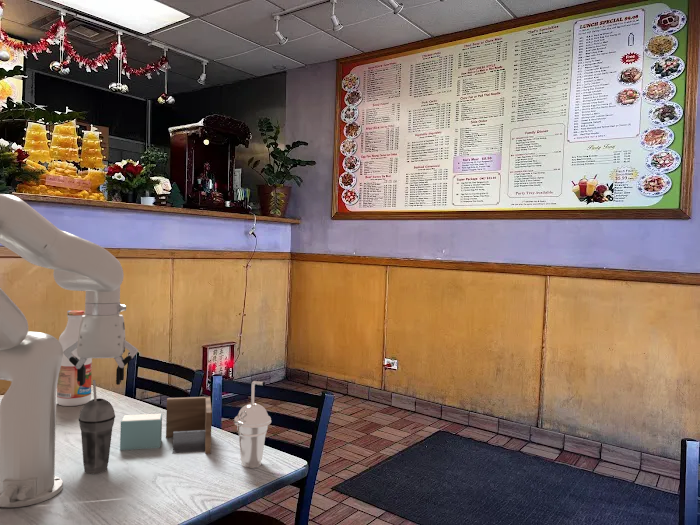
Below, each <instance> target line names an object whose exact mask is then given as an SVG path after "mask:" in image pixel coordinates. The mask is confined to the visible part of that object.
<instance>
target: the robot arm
mask: <svg viewBox="0 0 700 525" xmlns="http://www.w3.org/2000/svg"><path fill="white" fill-rule="evenodd" d="M0 245H2V246H3V247H4V248H7V249H8V250H10V251H11V252H13V253H14V254H16V255H18V256H19V257H20V258H22V259H23V260H25V261H26V262H28V263H29V264H32V265H34V266H36V267H37V266H38V267H41V268H44V269H49V270H53V279H54V281H55V283H56V285H58V286H59V287H60V288H61V289H64V290H66V291H67V290H68V291H72V292H73V291H76V292H77V291H79V292H85V298H84V299H85V300H84V301H85V302H84V311H85V315H82V318H81V322H80V327H79V335H78V341H77V342H76V343H74V344H73V345H72V346H70V347H69V348H67V349H66V350H65V351H64V352H63V349H62V345H61V343H60V342H59V339H58V338H56V337H55V336H53V335H51V334H49V333H46V332H45V333H44V332H40V331H30V330H29V323H28V319H27V318H26V315H25V314H24V313H23V311H22V310H21V309H20V308H19V306H18V305H17V304H16V303H15V302H14V301H13V300H12V299H11V298H10V297H9V295H8V294H7V293H6V292H5V291H4V290H3V289H2V288H1V287H0V380H2V381H3V380H4V381H8V382H11V383H10V386H9V387H8V389H7V390H6V392H5V393H4V394H3V397H2V398H1V401H0V508H20V507H21V508H22V507H27V506H33V505H36V504H40V503H42V502H45V501H47V500H51V499H52V498H53V497H55V496H57V495H58V494H60V492H61V491H62V490H63V489H64V480H63V479H62V478H61V477H60V476H57V475H55V473H56V472H55V468H56V467H55V465H56V464H55V462H56V422H57V421H56V419H57V418H56V416H57V415H56V413H57V411H56V410H57V409H56V408H57V382H58V376H59V372H60V368H61V363H62V358H63V354H64V355H65V356H66V357H67V358H68V359H69V361H70V362H71V363H72V364H73V365H74V366H75V367H76V368H77V382H79V381H80V386H82V385H84V384H85V379H86V367H85V366H84V363H85V361H86V360H87V358H92V359H112V358H113V359H114V360H115V362H116V363H117V367H116V372H115V373H116V378H115V384H116V385H118V386H119V385H120V384H121V383H122V381H124V380H125V379H124V378H125V366H126V365H128V363H130V362H131V361H132V360H133V358H135V356H136V355H137V354H138V352H139V349H138V348H137V347H136V346H134V345H133V344H131V343H130V342H129V341H127V340H126V326H125V318H124V315H123V314H120V313H121V312H124V311H125V312H126V311H127V305H125V304H122V303H121V285H122V283H123V281H124V269H123V267H122V264H121V262H120V260H119V259H117V258H116V256H114V255H113V254H112V253H111V252H110V251H109V250H107V249H105V247H103V246H101V245H99V244H97V243H94V242H93V241H90V240H87V239H86V238H85V239H84V238H82V237H80V236H77V235H76V234H72V233H70V232H67V231H64V230H62V229H60V228H58V227H57V226H56V225H55V224H54V223H52V222H51V221H50V220H48V219H47V218H46V217H45V216H43V215H42V214H41V213H39V211H37V210H36V209H34V208H33V207H32V206H30V205H29V204H28V203H27V202H26V201H24V200H23V199H21V198H20V197H17V196H16V195H13V194H9V193H8V194H5V193H0ZM76 348H77V354H78V356H79V357H81V358H80V360H79V359H78V358H77V357H75V356H74V355H73V353H72V351H74V350H75V349H76ZM126 350H128V351H129V353H128V355H127V356H126V357H123V355H124V353H125V352H126Z"/></svg>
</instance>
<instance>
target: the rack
mask: <svg viewBox="0 0 700 525" xmlns="http://www.w3.org/2000/svg"><path fill="white" fill-rule="evenodd" d="M212 412H213V411H212V402H211V396H190V397H189V396H187V397H185V396H184V397H167V398H166V424H165V439H168V438H169V439H170V438H172V439H173V432H176V431H194V430H205V451H204V454H205V455H210V454H211V453H212V452H211V451H212V447H211V446H212V421H213V420H212V418H213V417H212V415H213V413H212Z"/></svg>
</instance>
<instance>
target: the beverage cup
mask: <svg viewBox="0 0 700 525" xmlns="http://www.w3.org/2000/svg"><path fill="white" fill-rule="evenodd" d="M96 385H97V384H96V379H92V387H93V388H92V389H93V390H92V391H93V399H91V400H90V401H89V402H87V403H86V404H83V406H82V408H81V410H80V412H79V417H78V422H79V428H80V433H81V434H80V436H81V446H82V447H81V448H82V461H83V462H82V463H83V468H84V473H85V474H86V475H97V474H98V475H99V474H102V473H105V472H106V471H107V470H108V466H109V460H110V452H111V445H112V444H111V442H112V436H113V435H112V432H113V427H114V424H115V423H114V422H115V418H116V414H115V409H114V407H113V405H112V403H111V402H110V401H108V400H107V399H104V398H97V386H96Z"/></svg>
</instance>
